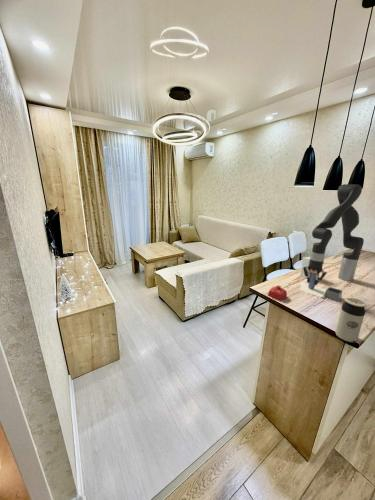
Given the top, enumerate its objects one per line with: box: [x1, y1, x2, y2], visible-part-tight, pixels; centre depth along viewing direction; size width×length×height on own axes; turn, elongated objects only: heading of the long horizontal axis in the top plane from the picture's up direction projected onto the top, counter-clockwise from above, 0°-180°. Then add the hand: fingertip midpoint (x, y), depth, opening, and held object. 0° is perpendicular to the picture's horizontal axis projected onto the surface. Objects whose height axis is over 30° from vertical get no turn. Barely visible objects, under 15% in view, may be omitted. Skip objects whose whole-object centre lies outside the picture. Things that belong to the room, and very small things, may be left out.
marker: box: [308, 271, 316, 289], centre depth 137 cm, size 4×4×13 cm
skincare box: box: [299, 256, 310, 280], centre depth 158 cm, size 8×7×16 cm
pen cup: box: [325, 286, 343, 302], centre depth 129 cm, size 7×7×5 cm
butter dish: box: [267, 285, 288, 302], centre depth 127 cm, size 12×12×8 cm
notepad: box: [299, 281, 327, 300], centre depth 138 cm, size 14×18×1 cm
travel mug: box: [335, 296, 367, 343], centre depth 92 cm, size 8×8×18 cm
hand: (312, 283), depth 138 cm, fingers closed on marker, 3 cm apart
